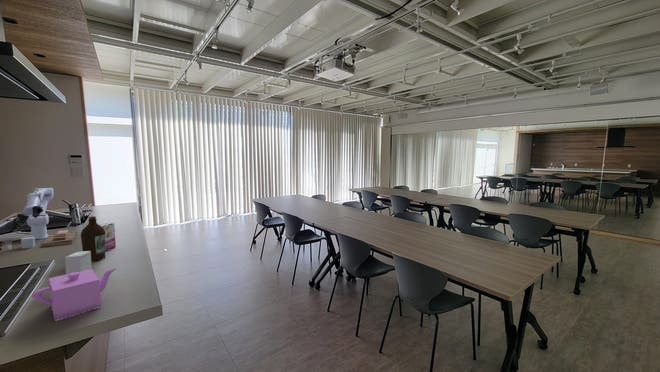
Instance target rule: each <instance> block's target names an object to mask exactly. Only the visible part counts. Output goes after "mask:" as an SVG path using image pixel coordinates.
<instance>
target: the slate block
mask: <svg viewBox="0 0 660 372" xmlns="http://www.w3.org/2000/svg"><path fill="white" fill-rule="evenodd" d="M20 245H21V249H22V250H23V249H29V248H34V247H36V239H35V236H34V237H32V236H26V237H22V238H21V239H20Z"/></svg>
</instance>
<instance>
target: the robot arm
mask: <svg viewBox="0 0 660 372" xmlns="http://www.w3.org/2000/svg"><path fill="white" fill-rule="evenodd" d="M54 195H55V191H54V188H53V187H41V188H36V187H35V188H34V190H33V192H32V193H31V192H29V193H28V194H27V198H26V201H27V202H26V205H25V206H24V207H23V210H22V211H21V213H18V214H17V215H16V217H17V218H18V220H19V223H20V224H22V225H24V224H27V226H29V227H30V231H31V232H30V233H31V237H34V236H35V240H41V239H47V237H48V236H49V235H50V234H48V231H47V225H48V224H49V221H50V217H49V215H48V213H46V211H47V207H48V204H49V202H50V201H51V200H53V198H54Z"/></svg>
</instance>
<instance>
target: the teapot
mask: <svg viewBox="0 0 660 372" xmlns="http://www.w3.org/2000/svg"><path fill="white" fill-rule="evenodd" d="M117 269H118V267H115V268H110V269H108V270H106V271H105V272H104V273H103V276H102V278H101V280H100V279H99V277H98V275H97V274H96V273H95V271H94V270H93V268H92V269H90V270H85V271H81V272H73V273H70V274H67V275H66V274H62V275H57V276H54V277H49V279H48V284H49V285H48V286H46V287H42V288H40V289H37V290H35V291H34V292H33V293H32V295H31V297H32V299H34V300H35V301H37V302H40V303H43V304H46V305H47V304H48V305H50V307H52V308H51V312H52V311H53V312H52V315H54V316H53V319H55V320H57V319H61V318H65V317H69V316H72V315H76V314H79V313H82V312H85V311H88V310H91V309H94V308H97V307H100V306H101V307H102V302H101V300H102V299H101V293H102V292H103V291H104V290H105V288H106V287H107V284H108V280H109V278H110V275H111V274H112V273H113V272H115V271H116V270H117ZM48 291H49V296H50V299H49V298H47V297H46V296H44V295H43V293H45V292H48ZM82 314H83V313H82ZM79 315H80V314H79ZM76 316H77V315H76ZM72 317H73V316H72ZM69 318H70V317H69ZM55 320H54V321H55Z"/></svg>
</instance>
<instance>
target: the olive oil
mask: <svg viewBox="0 0 660 372" xmlns="http://www.w3.org/2000/svg"><path fill="white" fill-rule="evenodd" d="M87 220H88V223H87V225H86V226H85V227H84V228H83V229H82V230H81V231H80V241H81V246H82V248H81V250H82V251H91V263H93V262H92V261H95V262H98V261H97V260H100V259H103V258H104V259H105V258H106V252H107V251H106V248H105V230H104V228H103V227H102V226H100V225H101V224H98V222H97V216H93V215H92V216H88V219H87ZM104 259H103V260H104ZM100 261H101V260H100Z"/></svg>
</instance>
